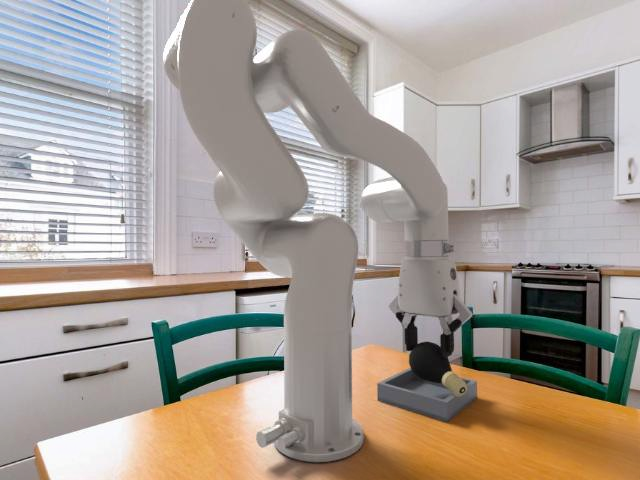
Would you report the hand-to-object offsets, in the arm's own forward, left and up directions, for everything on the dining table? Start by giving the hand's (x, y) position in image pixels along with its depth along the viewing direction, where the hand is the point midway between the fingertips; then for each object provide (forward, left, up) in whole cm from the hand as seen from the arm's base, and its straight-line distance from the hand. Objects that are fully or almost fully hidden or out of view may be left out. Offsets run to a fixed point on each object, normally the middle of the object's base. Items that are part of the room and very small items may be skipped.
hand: (428, 351), depth 68 cm
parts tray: (0, 0, -8) cm, 8 cm away
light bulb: (-1, -2, -5) cm, 6 cm away
